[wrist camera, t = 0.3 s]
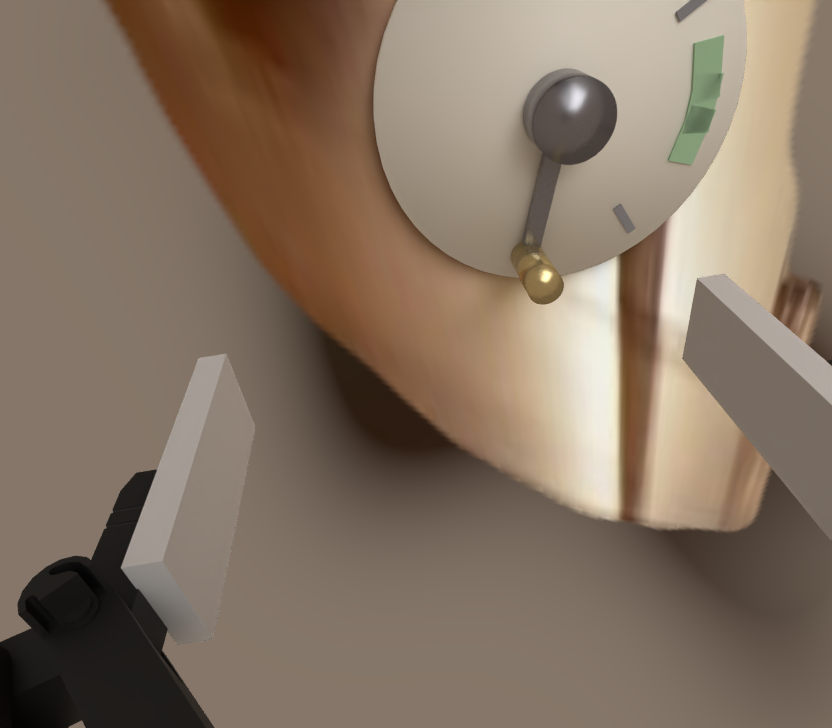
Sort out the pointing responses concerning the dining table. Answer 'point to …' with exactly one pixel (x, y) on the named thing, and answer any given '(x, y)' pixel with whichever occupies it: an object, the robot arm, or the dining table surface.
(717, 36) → the dial board
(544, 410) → the dining table surface
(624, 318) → the dining table surface
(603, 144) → the crank handle
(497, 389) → the dining table surface
